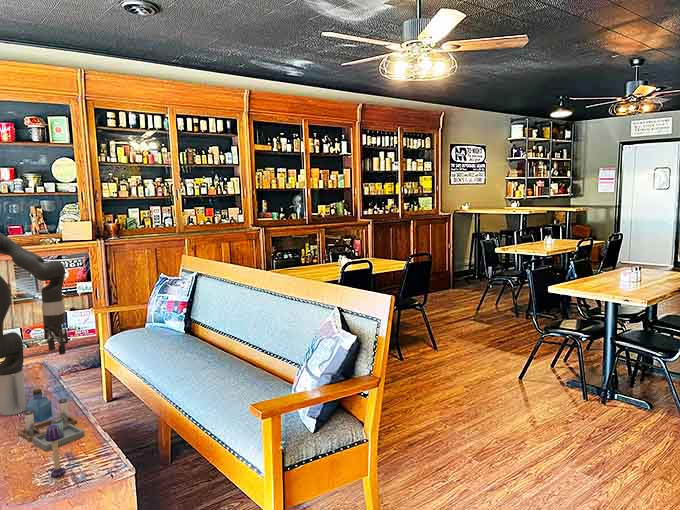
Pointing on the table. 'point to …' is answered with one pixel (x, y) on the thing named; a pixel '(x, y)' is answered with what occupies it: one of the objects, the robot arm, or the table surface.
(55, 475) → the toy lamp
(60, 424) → the cylinder
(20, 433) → the rack
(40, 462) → the table surface
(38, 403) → the perfume bottle
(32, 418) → the glass vial
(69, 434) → the dish
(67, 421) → the canister
